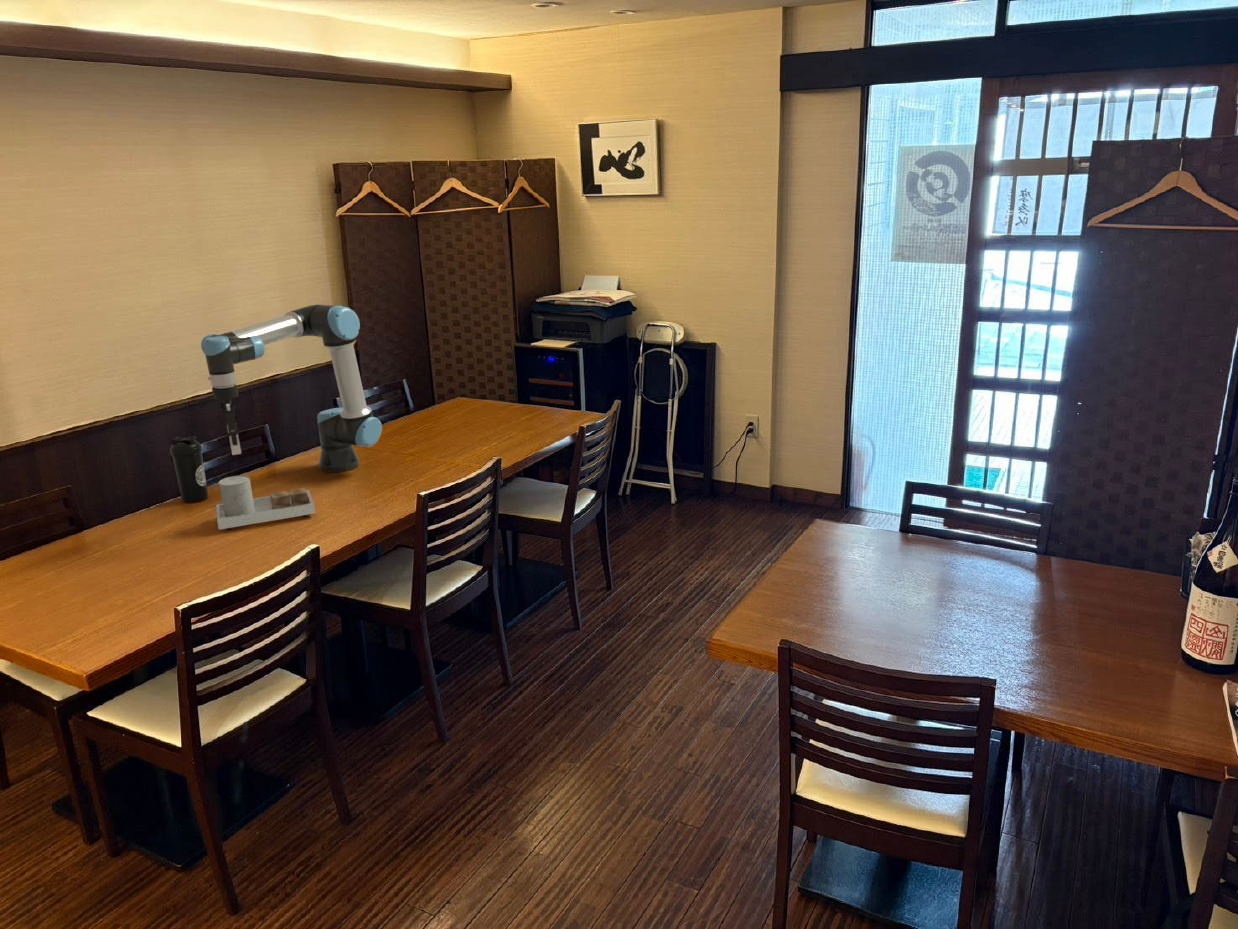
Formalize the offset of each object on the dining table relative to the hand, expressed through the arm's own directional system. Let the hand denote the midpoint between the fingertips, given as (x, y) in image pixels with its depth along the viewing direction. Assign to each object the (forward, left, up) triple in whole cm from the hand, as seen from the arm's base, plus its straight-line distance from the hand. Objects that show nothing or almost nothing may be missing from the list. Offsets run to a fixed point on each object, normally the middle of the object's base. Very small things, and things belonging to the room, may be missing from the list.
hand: (235, 448), depth 295 cm
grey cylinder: (+2, +3, -22) cm, 23 cm away
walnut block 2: (-17, +3, -22) cm, 28 cm away
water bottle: (+16, -29, -25) cm, 42 cm away
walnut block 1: (-11, +3, -22) cm, 25 cm away
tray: (-6, +3, -25) cm, 26 cm away
